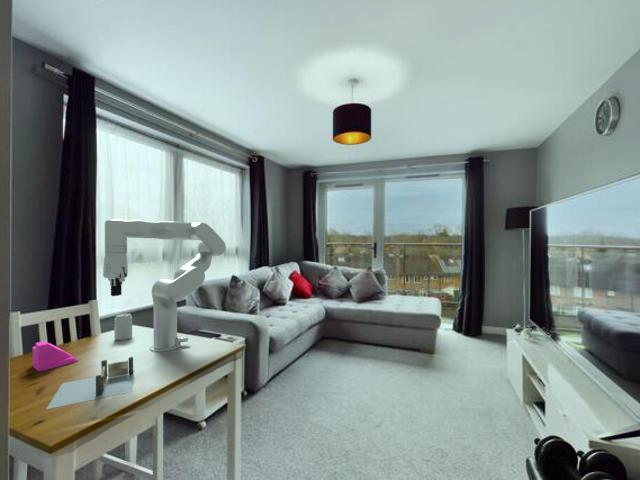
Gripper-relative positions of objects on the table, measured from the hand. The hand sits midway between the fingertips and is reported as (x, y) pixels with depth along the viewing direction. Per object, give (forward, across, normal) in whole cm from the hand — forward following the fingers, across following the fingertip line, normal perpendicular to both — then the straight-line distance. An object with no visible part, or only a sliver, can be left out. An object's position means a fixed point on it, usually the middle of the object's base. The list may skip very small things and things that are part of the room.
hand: (116, 295), depth 122 cm
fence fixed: (+26, +21, -10) cm, 35 cm away
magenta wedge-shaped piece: (+28, -18, -13) cm, 36 cm away
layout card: (+27, +18, -15) cm, 36 cm away
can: (+27, -28, +17) cm, 43 cm away
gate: (+26, +19, -13) cm, 35 cm away
